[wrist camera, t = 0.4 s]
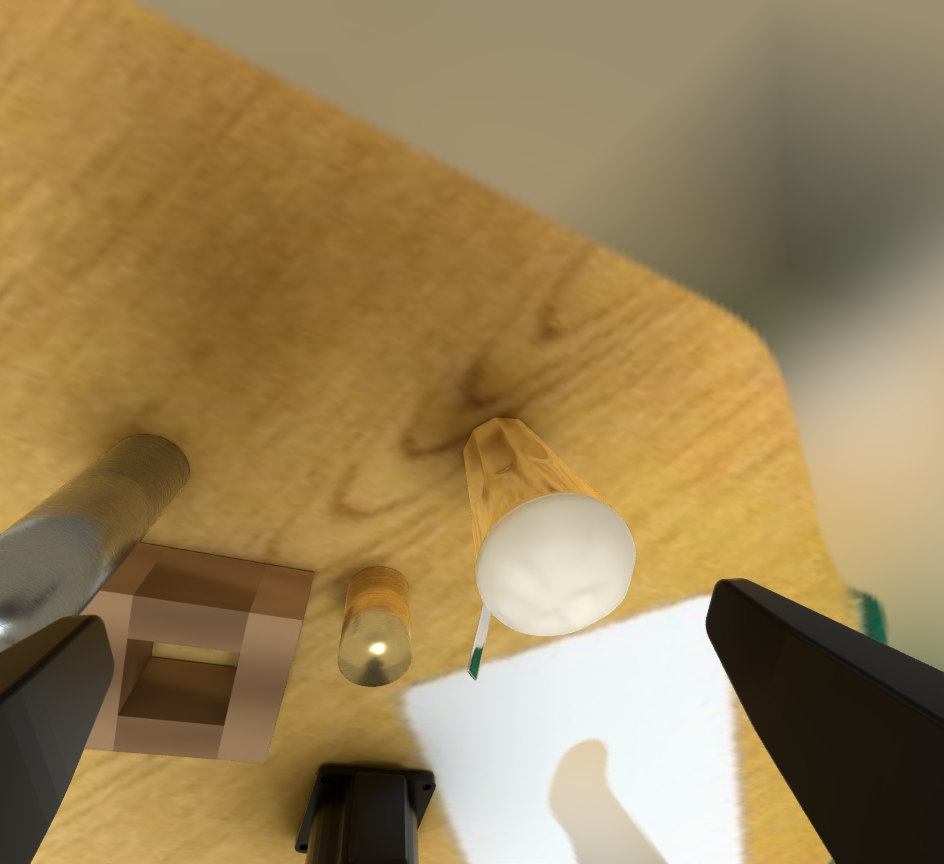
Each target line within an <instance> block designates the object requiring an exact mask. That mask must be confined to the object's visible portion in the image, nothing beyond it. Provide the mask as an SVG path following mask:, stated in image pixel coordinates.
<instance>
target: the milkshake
mask: <svg viewBox="0 0 944 864" xmlns="http://www.w3.org/2000/svg"><path fill="white" fill-rule="evenodd" d="M463 454H464V461H465V469H466V476H467V483H468V491H469V498H470V506H471V517H472V532H473V546H474V558H475V577H476V584H477V588H478V591H479V594H480V596H481V598H482V600H483V605H482V609H481V613H480V618H479V622H478V626H477V630H476V634H475V638H474V643H473V647H472V651H471V655H470V659H469V664H468V668H467V671H468V673H469V674H470V675H471V677H472V678H473V679H474V680H475V681H476V680H477V677H478V672H479V668H480V663H481V659H482V654H483V650H484V645H485V641H486V636H487V632H488V627H489V623H490V618H491V613H492V614H493V615H494V616H495V617H496V618H497V619H498V620H499V621H501V622H502V623H503V624H505V625H506V626H508V627H510V628H511V629H513V630H516V631H518V632H521V633H524V634H528V635H535V636H557V635H564V634H568V633H572V632H575V631H578V630H581V629H583V628H585V627H587V626H589V625H591V624H593V623H595V622H596V621H598V620H600V619H601V618H603V617H605V616H606V615H608V614H609V613H610V612H612V611H613V610H614V609H615V608H616V607H617V606H618V605H619V604H620V603H621V602H622V600H623V599H624V597H625V596H626V594H627V591H628V588H629V585H630V581H631V577H632V573H633V569H634V565H635V559H636V550H635V545H634V541H633V538H632V535H631V533H630V531H629V529H628V527H627V525H626V524H625V522H624V521H623V519H622V518H621V517H620V516H619V514H618V513H617V512H616V511H615V510H614V509H613V508H612V507H610V506H609V505H608V504H607V503H606V502H605V501H604V500H603V499H602V498H601V497H600V496H599V495H598V494H597V493H595V492H594V491H593V490H592V489H591V488H590V487H589V486H588V485H587V484H586V483H585V482H584V481H583V480H581V479H580V478H579V477H578V476H577V475H576V474H574V473H573V472H572V471H571V470H570V469H569V468H568V467H567V466H566V465H565V464H564V463H563V462H562V461H561V460H560V459H559V458H558V457H557V456H556V454H555V453H554V452H553V451H552V450H551V449H550V448H549V447H548V446H547V445H546V444H545V443H544V442H543V441H542V440H541V439H540V438H539V437H538V436H537V435H536V434H535V433H534V432H533V431H532V430H531V429H530V428H528V427H527V426H526V425H525V424H524V423H523V422H522V421H520V420H519V419H512V418H499V417H494V418H493V419H491V420H489V421H487V422H486V423H484V424H482V425H480V426H479V427H477V428H475V429H473V431H472V433H471V436H470V438H469V440H468V442H467V444H466V446H465V448H464V450H463Z"/></svg>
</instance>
